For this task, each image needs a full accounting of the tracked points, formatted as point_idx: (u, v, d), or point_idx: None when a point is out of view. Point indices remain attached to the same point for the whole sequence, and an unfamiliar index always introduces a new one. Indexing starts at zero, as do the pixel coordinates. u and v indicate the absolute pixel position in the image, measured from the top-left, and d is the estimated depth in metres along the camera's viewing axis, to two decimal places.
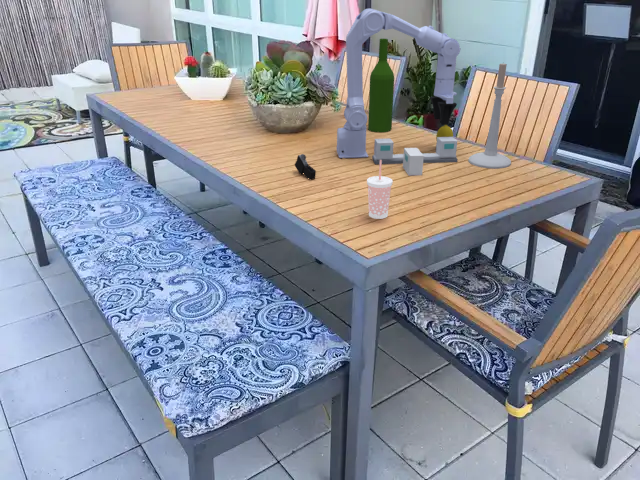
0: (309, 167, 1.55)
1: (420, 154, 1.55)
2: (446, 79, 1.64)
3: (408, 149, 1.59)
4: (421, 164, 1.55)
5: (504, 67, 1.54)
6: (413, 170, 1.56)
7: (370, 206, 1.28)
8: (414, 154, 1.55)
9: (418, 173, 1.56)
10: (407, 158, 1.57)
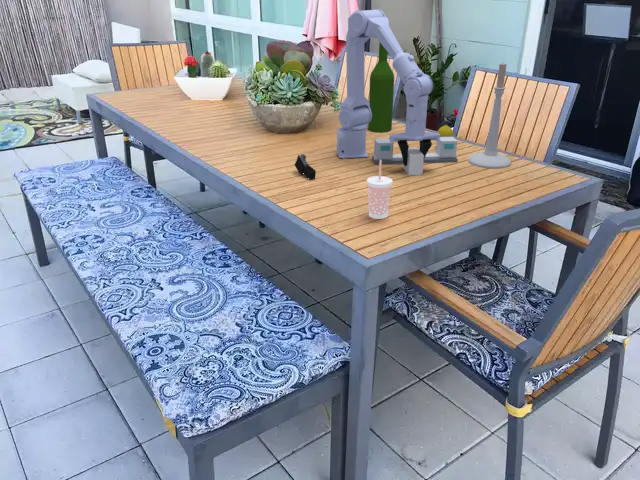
0: (309, 167, 1.55)
1: (420, 154, 1.55)
2: (406, 118, 1.53)
3: (408, 149, 1.59)
4: (421, 163, 1.55)
5: (504, 67, 1.54)
6: (413, 170, 1.56)
7: (370, 206, 1.28)
8: (414, 154, 1.55)
9: (418, 173, 1.56)
10: (407, 158, 1.57)
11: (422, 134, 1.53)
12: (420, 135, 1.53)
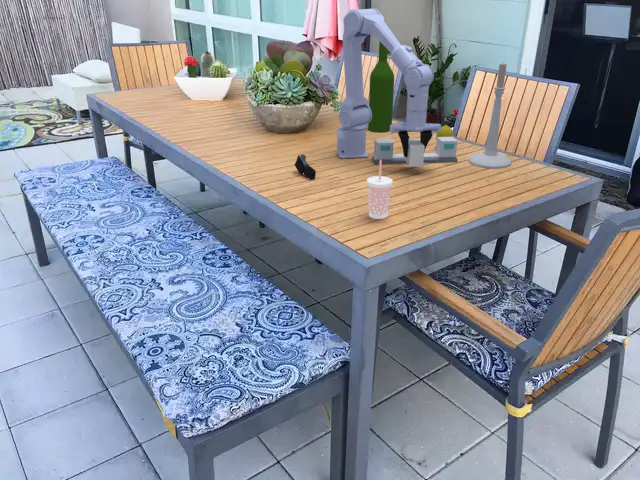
0: (309, 167, 1.55)
1: (421, 145, 1.54)
2: None
3: (409, 140, 1.58)
4: (421, 154, 1.54)
5: (504, 67, 1.54)
6: (414, 161, 1.55)
7: (370, 206, 1.28)
8: (415, 145, 1.54)
9: (419, 164, 1.55)
10: (408, 149, 1.56)
11: (423, 125, 1.52)
12: (421, 126, 1.52)
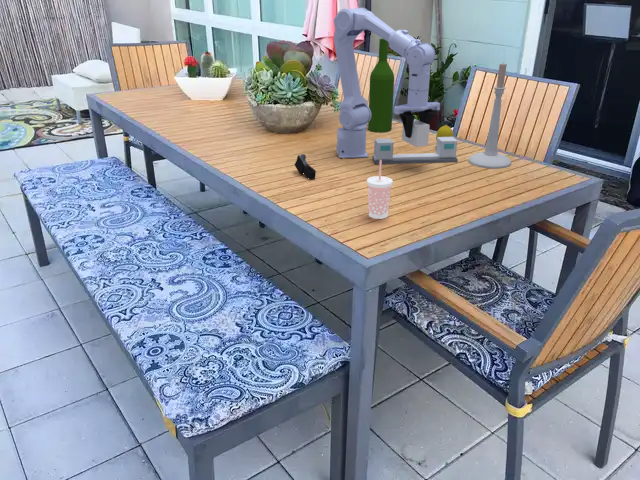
0: (309, 167, 1.55)
1: (425, 124, 1.54)
2: (409, 89, 1.51)
3: None
4: (427, 133, 1.55)
5: (504, 67, 1.54)
6: (420, 141, 1.55)
7: (370, 206, 1.28)
8: (420, 124, 1.54)
9: (424, 143, 1.56)
10: (412, 129, 1.55)
11: (426, 104, 1.52)
12: (425, 105, 1.52)
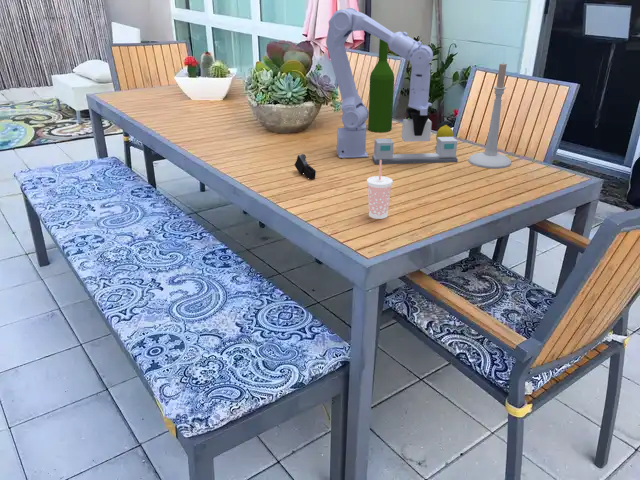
0: (309, 167, 1.55)
1: None
2: (420, 89, 1.57)
3: (411, 121, 1.63)
4: None
5: (504, 67, 1.54)
6: None
7: (370, 206, 1.28)
8: None
9: None
10: None
11: None
12: None
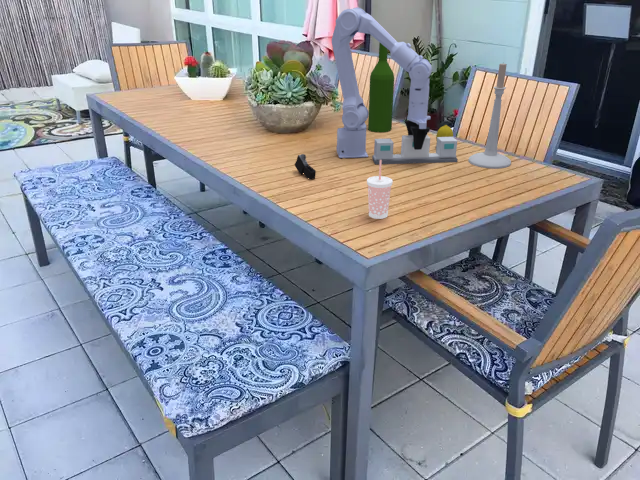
0: (309, 167, 1.55)
1: None
2: (419, 103, 1.59)
3: (410, 137, 1.65)
4: None
5: (504, 67, 1.54)
6: None
7: (370, 206, 1.28)
8: None
9: None
10: None
11: None
12: None
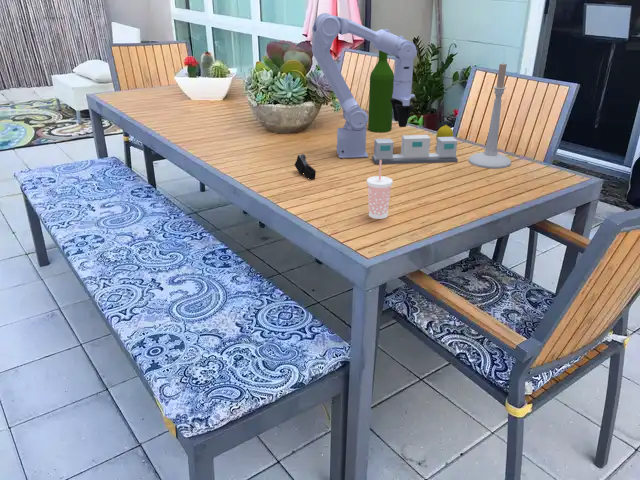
0: (309, 167, 1.55)
1: (423, 135, 1.67)
2: (403, 81, 1.65)
3: (410, 137, 1.65)
4: None
5: (504, 67, 1.54)
6: None
7: (370, 206, 1.28)
8: (424, 136, 1.66)
9: None
10: (422, 143, 1.65)
11: None
12: None
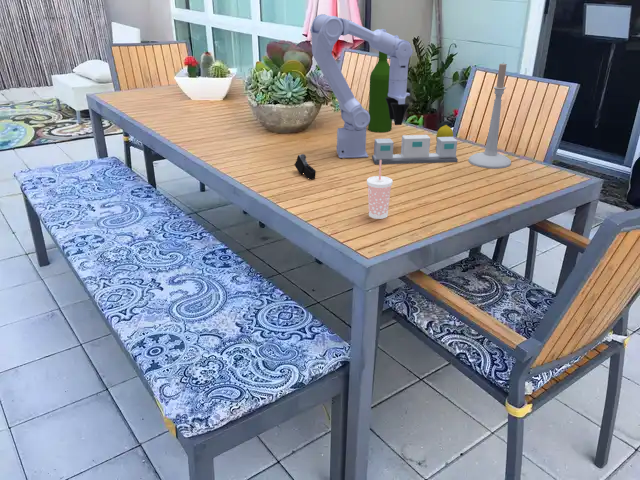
0: (309, 167, 1.55)
1: (423, 135, 1.67)
2: (398, 80, 1.67)
3: (410, 137, 1.65)
4: None
5: (504, 67, 1.54)
6: None
7: (370, 206, 1.28)
8: (424, 136, 1.66)
9: None
10: (422, 143, 1.65)
11: None
12: None
